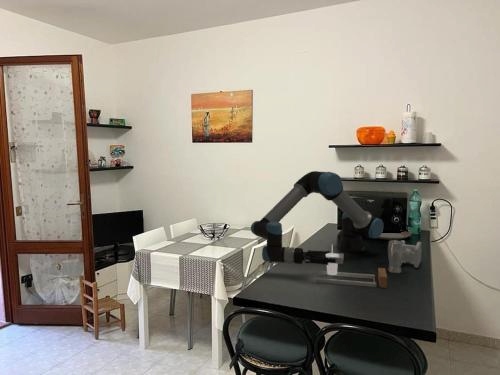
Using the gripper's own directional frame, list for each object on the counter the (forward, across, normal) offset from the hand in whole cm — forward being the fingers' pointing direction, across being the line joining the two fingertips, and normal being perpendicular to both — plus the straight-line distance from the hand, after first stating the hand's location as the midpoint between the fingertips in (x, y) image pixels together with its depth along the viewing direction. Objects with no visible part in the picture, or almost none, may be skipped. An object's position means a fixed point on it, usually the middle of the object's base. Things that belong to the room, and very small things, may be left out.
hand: (343, 258), depth 170 cm
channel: (+4, -1, -10) cm, 11 cm away
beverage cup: (-5, 0, -8) cm, 9 cm away
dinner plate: (+28, -92, -11) cm, 97 cm away
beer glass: (+24, -18, -10) cm, 32 cm away
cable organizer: (+32, -31, -11) cm, 46 cm away
